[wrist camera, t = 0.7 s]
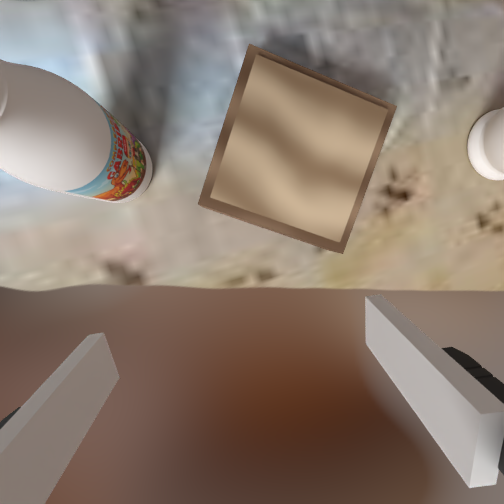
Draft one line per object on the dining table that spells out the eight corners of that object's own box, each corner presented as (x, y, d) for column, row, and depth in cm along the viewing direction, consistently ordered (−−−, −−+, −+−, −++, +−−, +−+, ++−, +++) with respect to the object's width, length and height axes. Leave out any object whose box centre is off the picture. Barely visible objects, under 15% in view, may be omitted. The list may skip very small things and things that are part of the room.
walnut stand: (246, 70, 30) (249, 39, 25) (373, 122, 31) (400, 103, 26) (202, 206, 31) (197, 203, 26) (327, 250, 33) (345, 254, 28)
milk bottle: (98, 212, 30) (-159, 189, 10) (71, 145, 29) (-273, -28, 9) (164, 191, 30) (40, 128, 10) (139, 123, 29) (-49, -87, 10)
